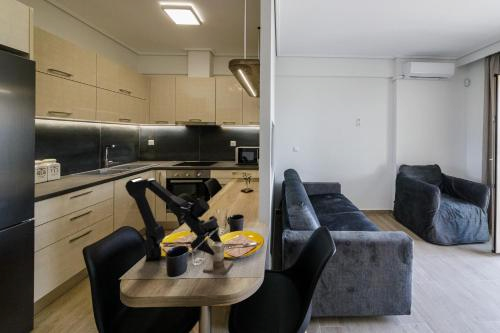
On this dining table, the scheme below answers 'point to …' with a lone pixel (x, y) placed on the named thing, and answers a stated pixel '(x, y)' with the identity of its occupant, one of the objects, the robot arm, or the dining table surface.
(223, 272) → the walnut stand
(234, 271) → the dining table surface
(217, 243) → the birch block
